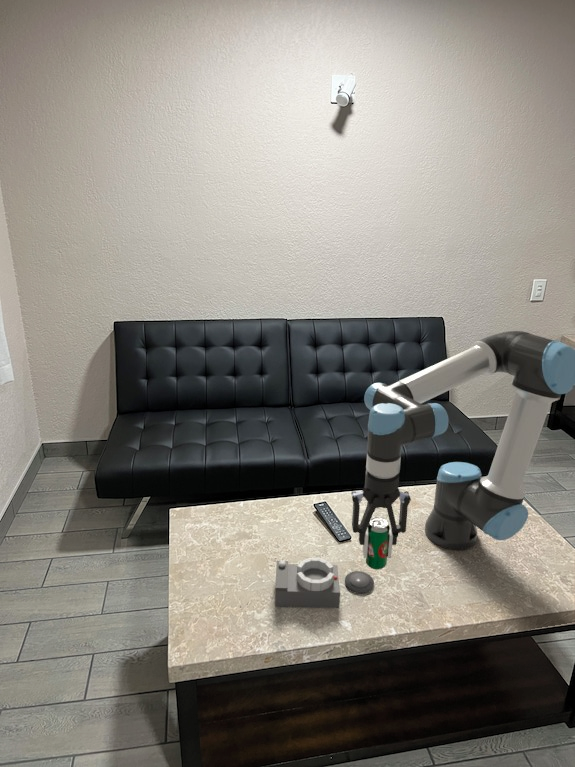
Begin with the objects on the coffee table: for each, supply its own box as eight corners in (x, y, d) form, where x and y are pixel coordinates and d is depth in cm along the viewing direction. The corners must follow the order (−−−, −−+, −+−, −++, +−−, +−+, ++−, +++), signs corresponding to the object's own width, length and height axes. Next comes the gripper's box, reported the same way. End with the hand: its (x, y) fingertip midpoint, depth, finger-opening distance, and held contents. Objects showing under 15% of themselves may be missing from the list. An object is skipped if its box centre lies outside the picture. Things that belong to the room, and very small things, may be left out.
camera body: (336, 580, 143) (337, 557, 141) (339, 608, 134) (340, 584, 131) (276, 578, 143) (276, 556, 141) (275, 606, 134) (275, 583, 131)
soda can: (363, 557, 132) (366, 516, 128) (383, 556, 133) (386, 515, 128) (368, 571, 128) (370, 529, 123) (388, 570, 128) (392, 528, 124)
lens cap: (371, 573, 146) (371, 570, 145) (375, 594, 139) (375, 590, 138) (343, 573, 146) (343, 569, 145) (346, 593, 139) (346, 590, 138)
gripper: (419, 462, 124) (411, 544, 133) (341, 462, 124) (338, 544, 133) (426, 479, 117) (417, 565, 126) (343, 479, 117) (340, 564, 126)
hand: (376, 554), depth 129 cm, fingers closed on soda can, 5 cm apart
